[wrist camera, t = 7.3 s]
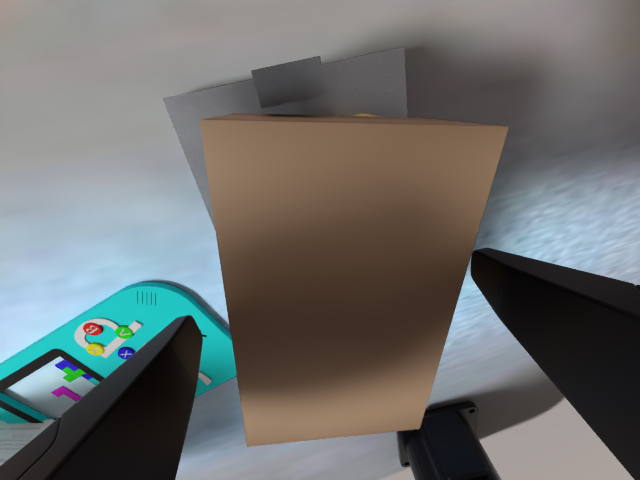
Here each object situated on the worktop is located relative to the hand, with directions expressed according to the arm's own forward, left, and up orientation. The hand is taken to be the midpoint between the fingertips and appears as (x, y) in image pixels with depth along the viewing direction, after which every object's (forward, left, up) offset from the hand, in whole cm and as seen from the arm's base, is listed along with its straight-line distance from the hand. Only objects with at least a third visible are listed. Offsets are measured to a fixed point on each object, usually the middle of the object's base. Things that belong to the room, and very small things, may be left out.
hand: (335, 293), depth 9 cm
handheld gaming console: (-7, +14, -7) cm, 17 cm away
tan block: (0, 0, -2) cm, 3 cm away
